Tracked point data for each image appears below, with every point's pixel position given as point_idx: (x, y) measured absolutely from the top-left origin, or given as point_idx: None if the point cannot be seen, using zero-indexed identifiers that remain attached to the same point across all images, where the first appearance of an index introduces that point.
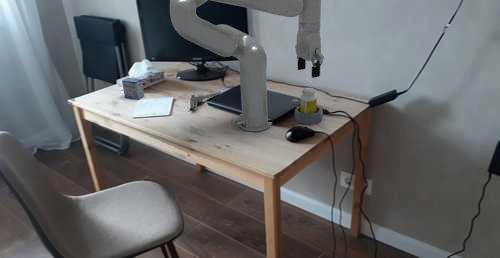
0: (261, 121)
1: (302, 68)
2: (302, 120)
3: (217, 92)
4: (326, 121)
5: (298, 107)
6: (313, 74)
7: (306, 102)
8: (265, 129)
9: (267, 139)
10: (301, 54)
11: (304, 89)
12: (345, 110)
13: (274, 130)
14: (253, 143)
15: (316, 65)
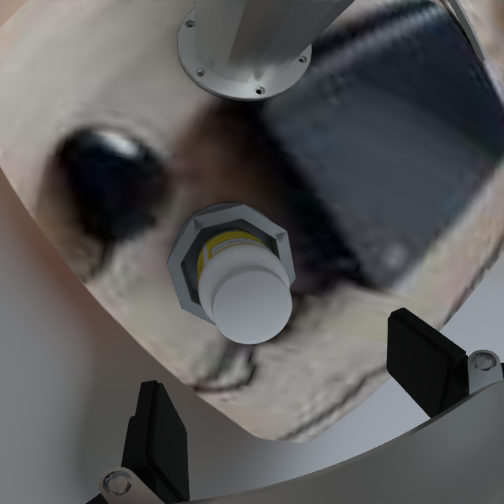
0: (196, 40)
1: (391, 350)
2: (188, 222)
3: (481, 47)
4: (184, 314)
5: (271, 232)
6: (144, 408)
7: (204, 265)
8: (182, 64)
9: (109, 61)
10: (401, 498)
11: (270, 288)
12: (252, 392)
13: (167, 95)
14: (103, 19)
15: (99, 498)
